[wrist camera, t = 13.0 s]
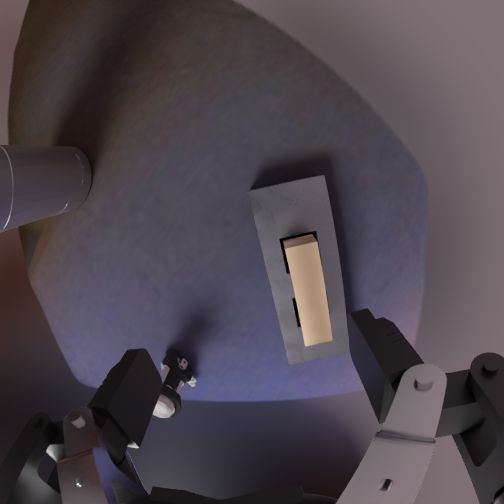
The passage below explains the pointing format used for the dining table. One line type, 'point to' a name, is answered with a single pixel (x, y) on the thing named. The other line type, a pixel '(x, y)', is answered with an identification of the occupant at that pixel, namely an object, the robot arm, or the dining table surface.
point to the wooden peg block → (309, 289)
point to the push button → (172, 384)
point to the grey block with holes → (270, 231)
